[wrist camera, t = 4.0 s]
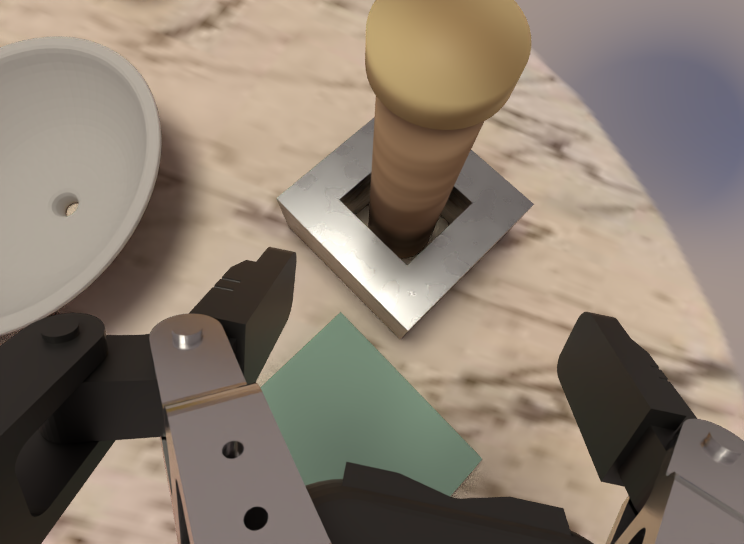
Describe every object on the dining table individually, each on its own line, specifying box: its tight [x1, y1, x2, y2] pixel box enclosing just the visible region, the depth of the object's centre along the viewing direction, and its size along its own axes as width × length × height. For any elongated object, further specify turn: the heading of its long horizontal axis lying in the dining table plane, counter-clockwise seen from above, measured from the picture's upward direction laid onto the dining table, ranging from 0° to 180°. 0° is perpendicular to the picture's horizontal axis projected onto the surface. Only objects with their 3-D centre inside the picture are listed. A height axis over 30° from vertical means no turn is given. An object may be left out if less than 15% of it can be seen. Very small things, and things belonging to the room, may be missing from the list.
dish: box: [0, 37, 162, 336], centre depth 24 cm, size 18×14×5 cm
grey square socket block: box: [276, 117, 534, 339], centre depth 25 cm, size 10×10×4 cm
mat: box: [261, 312, 482, 496], centre depth 22 cm, size 11×11×1 cm
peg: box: [365, 0, 531, 258], centre depth 19 cm, size 5×5×15 cm
